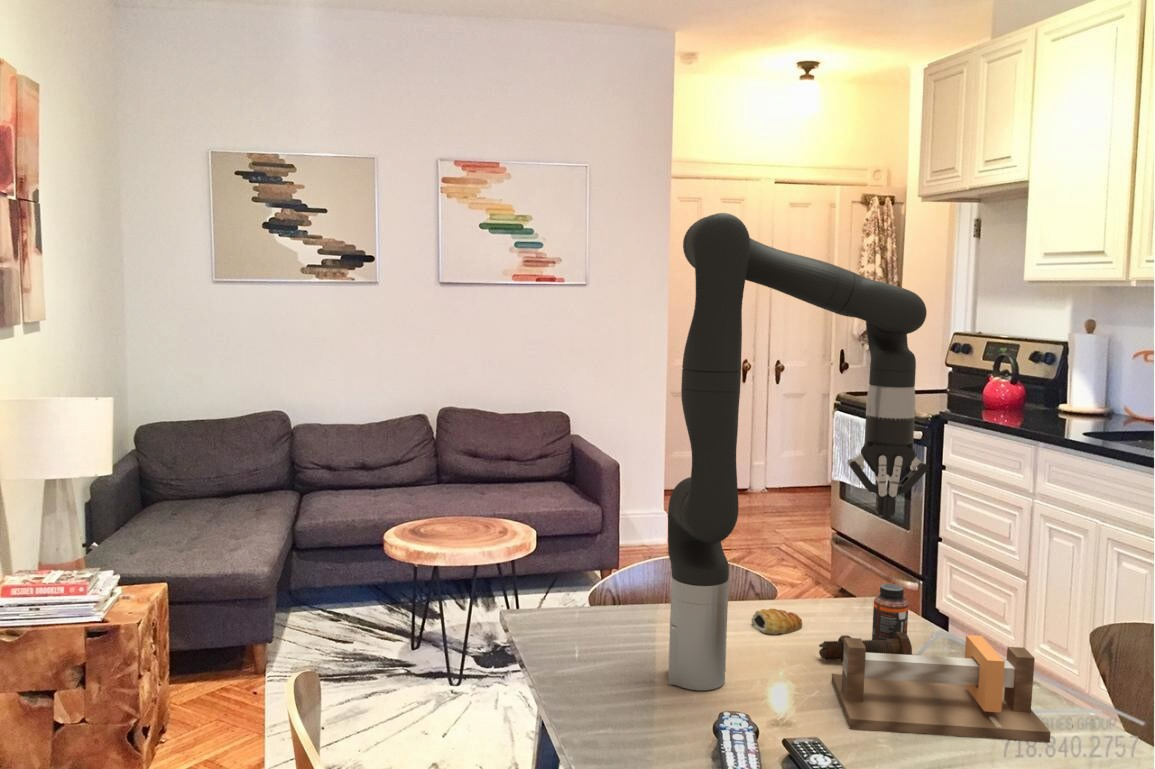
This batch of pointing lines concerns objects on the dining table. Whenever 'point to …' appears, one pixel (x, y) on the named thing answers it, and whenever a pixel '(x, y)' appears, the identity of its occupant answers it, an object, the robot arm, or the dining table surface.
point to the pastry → (776, 621)
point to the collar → (986, 673)
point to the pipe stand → (934, 695)
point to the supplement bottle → (889, 612)
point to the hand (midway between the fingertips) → (884, 517)
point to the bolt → (868, 646)
